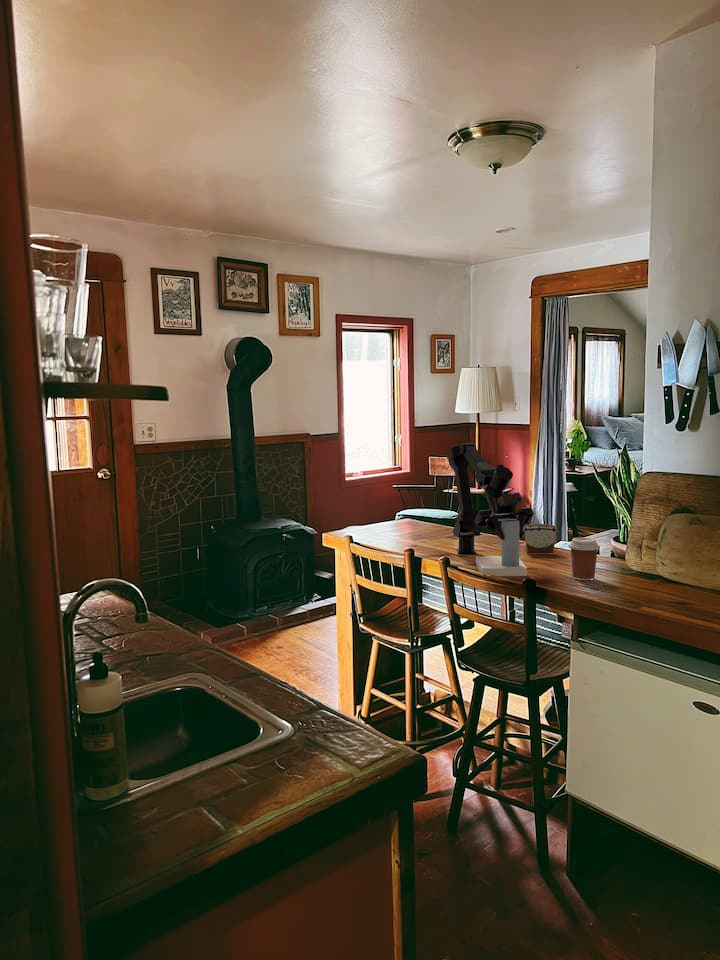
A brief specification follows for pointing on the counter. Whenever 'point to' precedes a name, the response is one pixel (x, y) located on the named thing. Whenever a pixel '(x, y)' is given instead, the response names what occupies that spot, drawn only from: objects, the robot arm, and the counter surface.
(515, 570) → the shelf board
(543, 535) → the food container
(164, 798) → the counter surface
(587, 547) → the coffee cup
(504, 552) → the grey pillar
